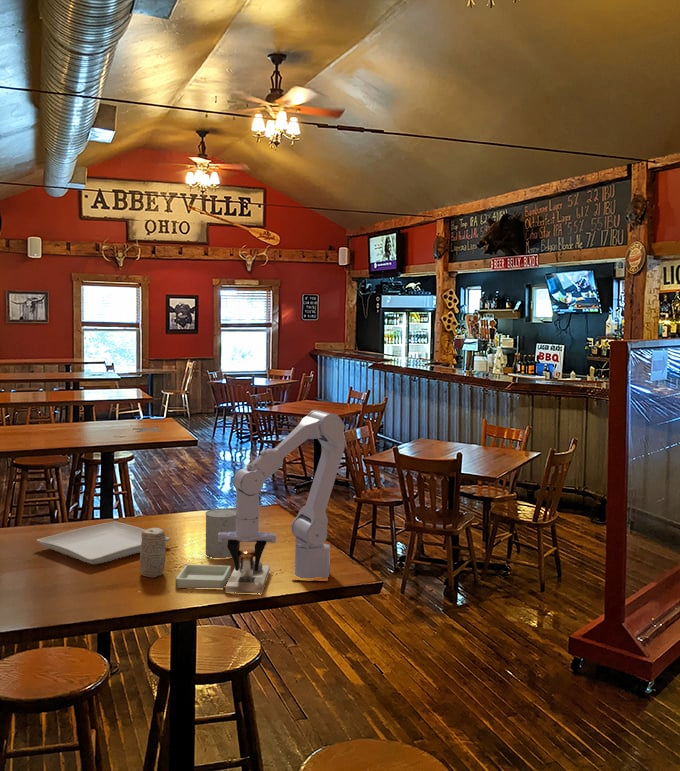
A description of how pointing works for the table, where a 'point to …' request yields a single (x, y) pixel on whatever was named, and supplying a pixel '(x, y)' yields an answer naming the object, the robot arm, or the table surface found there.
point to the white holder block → (245, 587)
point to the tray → (203, 576)
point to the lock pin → (246, 565)
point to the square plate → (97, 542)
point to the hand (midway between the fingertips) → (246, 569)
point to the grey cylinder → (219, 523)
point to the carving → (152, 552)
